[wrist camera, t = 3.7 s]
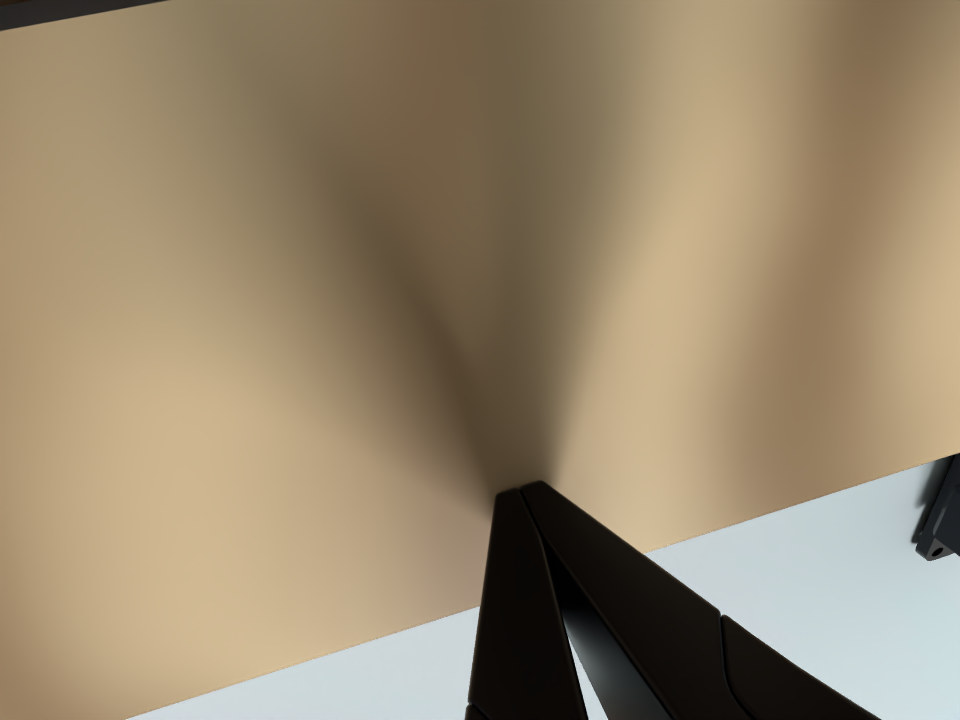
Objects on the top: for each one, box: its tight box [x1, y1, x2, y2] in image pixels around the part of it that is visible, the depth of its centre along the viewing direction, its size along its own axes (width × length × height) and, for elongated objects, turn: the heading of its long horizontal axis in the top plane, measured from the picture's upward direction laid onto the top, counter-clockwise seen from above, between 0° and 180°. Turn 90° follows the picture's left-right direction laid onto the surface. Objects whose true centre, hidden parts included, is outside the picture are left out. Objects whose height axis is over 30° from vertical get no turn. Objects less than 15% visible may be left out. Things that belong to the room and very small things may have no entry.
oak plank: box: [0, 0, 960, 720], centre depth 7 cm, size 22×10×2 cm, turn 101°
